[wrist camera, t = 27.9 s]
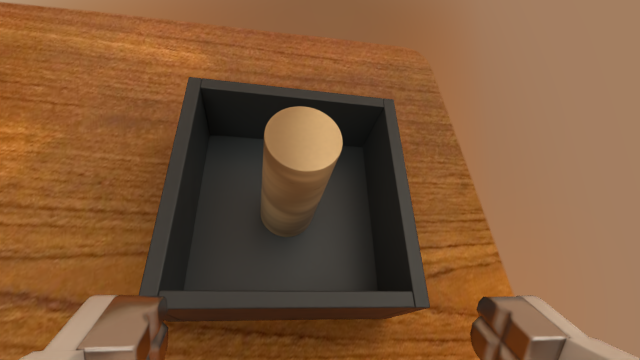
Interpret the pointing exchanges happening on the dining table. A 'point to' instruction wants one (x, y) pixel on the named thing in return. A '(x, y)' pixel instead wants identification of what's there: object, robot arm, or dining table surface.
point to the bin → (264, 246)
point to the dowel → (296, 167)
